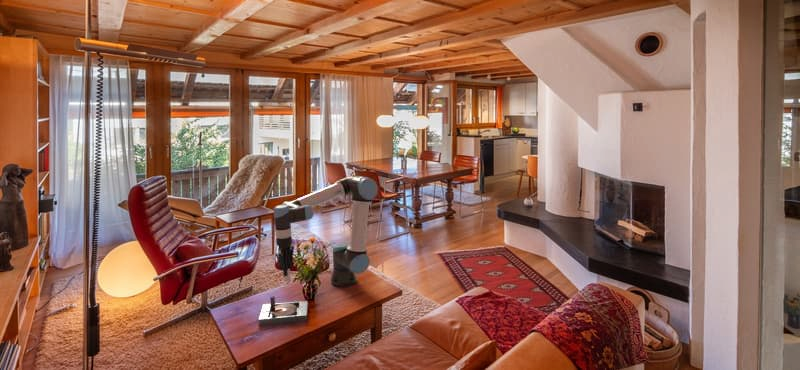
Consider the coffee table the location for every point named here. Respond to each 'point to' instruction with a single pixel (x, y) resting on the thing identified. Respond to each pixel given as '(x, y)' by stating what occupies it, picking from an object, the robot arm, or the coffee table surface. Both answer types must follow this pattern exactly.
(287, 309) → the dial
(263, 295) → the coffee table surface
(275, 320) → the dial housing
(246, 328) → the coffee table surface
